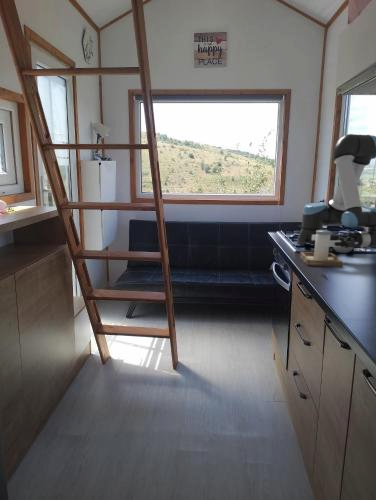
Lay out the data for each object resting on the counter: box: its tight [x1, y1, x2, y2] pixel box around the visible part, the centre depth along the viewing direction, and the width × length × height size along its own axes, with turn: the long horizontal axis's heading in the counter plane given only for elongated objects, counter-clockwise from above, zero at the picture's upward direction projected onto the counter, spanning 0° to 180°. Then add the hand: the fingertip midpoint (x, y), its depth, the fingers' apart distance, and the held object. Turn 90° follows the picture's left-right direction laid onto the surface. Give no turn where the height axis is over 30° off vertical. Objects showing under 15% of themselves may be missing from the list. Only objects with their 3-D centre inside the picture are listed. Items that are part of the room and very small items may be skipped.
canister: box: [313, 229, 332, 261], centre depth 187 cm, size 7×7×14 cm
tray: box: [299, 251, 344, 268], centre depth 189 cm, size 16×16×2 cm
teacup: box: [332, 246, 354, 254], centre depth 211 cm, size 14×11×8 cm
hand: (319, 240), depth 186 cm, fingers open, 13 cm apart
